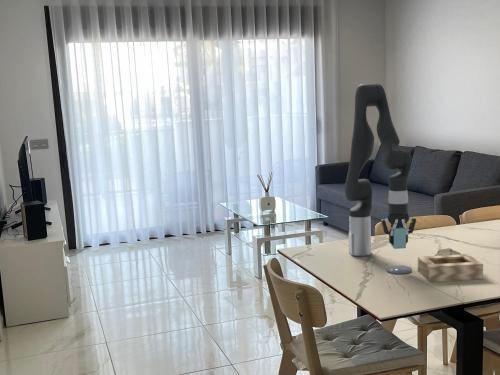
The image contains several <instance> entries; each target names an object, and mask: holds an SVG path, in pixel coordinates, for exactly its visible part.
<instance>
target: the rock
mask: <svg viewBox="0 0 500 375" xmlns="http://www.w3.org/2000/svg"><path fill="white" fill-rule="evenodd" d="M460 254H462V253H461V252H459V251H457V250H454V249H452V248H449V247H448V248H447V247H446V248H440V249H438V251H437V253H435V255H434V256H442V255H460Z"/></svg>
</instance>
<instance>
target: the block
mask: <svg viewBox="0 0 500 375" xmlns="http://www.w3.org/2000/svg"><path fill="white" fill-rule="evenodd" d="M393 236H394V245H391V244H390V245H391V247H392V248H393V249H394V250H397V249H398V250H400V249H401V250H403V249H407V244H406V228H403V227H397V228H395V229H394V234H393Z"/></svg>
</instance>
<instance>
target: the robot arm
mask: <svg viewBox="0 0 500 375" xmlns="http://www.w3.org/2000/svg"><path fill="white" fill-rule="evenodd" d="M369 107H376V109H377V111H378V118H377V119H378V120H377V123H376V134H377V137H378V139H379V141H380V144H381V149H382V159H383V164H384V166H385V167H386V169H389V170H397V172H396V173H394V174H391V175H390V176H389V177H388V195H387V197H388V198H387V202H388V203H387V204H388V205H387V206H388V210H387V211H388V215H387V217H386V218H384V219H383V218H381V219H380V222H381V227H382V229H383V232H384V234H386V235H387V236H388V242H389V244H390V245H394V236H393V234H394V229H395V228H397V227H403V228H406V245H407V243H409V234H413V233H414V230H415V225H416V222H417V219H416V218H415V217H411V216H410V215H409V193H408V192H409V191H408V178H409V174H410V171H411V166H412V154H411V153H410V152H409V151H408V150H406V149H404V150H403V149H402V150H394V149H395V148H398V146H400V142H401V141H400V139H399V138H400V137H399V136H398V133H397V131H396V129H395V126H394V123H393V121H392V115H391V110H390V106H389V103H388V98H387V94H386V91H385V88H384V87H383V85H382V84H380V83H361V84H359V85H358V86H357V87H356V89H355V95H354V115H353V116H354V120H353V127H352V129H353V130H352V138H351V144H350V147H351V148H350V156H349V164H348V170H347V175H346V179H345V183H344V184H345V185H344V195H345V198H346V200H347V201H348V202H357V201H358V202H357V204H356V205H354V206H353V207H351V208H350V209H349V211H348V218H349V219H348V220H349V224H348V225H349V231H348V253H349V254H350V255H351V256H354V257H355V256H357V257H365V256H369V255H371V254H372V236H371V235H372V233H371V230H372V228H371V227H372V225H371V224H372V222H371V211H372V208H373V207H372V206H373V187H372V184H371V181H370V180H369V179H368V178H360V174H361V172H362V170H363V169H364V167H365V165H366V164H367V163H368V162H369V160H370V158H371V157H372V155H373V152H374V146H375V145H374V144H375V135H374V132H373V130H372V128H371V126H370V124H369V122H368V118H367V111H368V110H367V108H369ZM359 178H360V179H359ZM408 222H409V225H408V226H409V227H408V226H407V223H408ZM388 223H389V224H390V227H389V228H388Z"/></svg>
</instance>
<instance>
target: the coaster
mask: <svg viewBox="0 0 500 375" xmlns="http://www.w3.org/2000/svg"><path fill="white" fill-rule="evenodd" d="M412 269H413V268H412V267H410V266H408V265H404V264H403V265H402V264H392V265H388V266H386V267H385V271H386V272H387V273H389V274H392V275H407V274H410V273H412V271H413V270H412Z"/></svg>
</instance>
